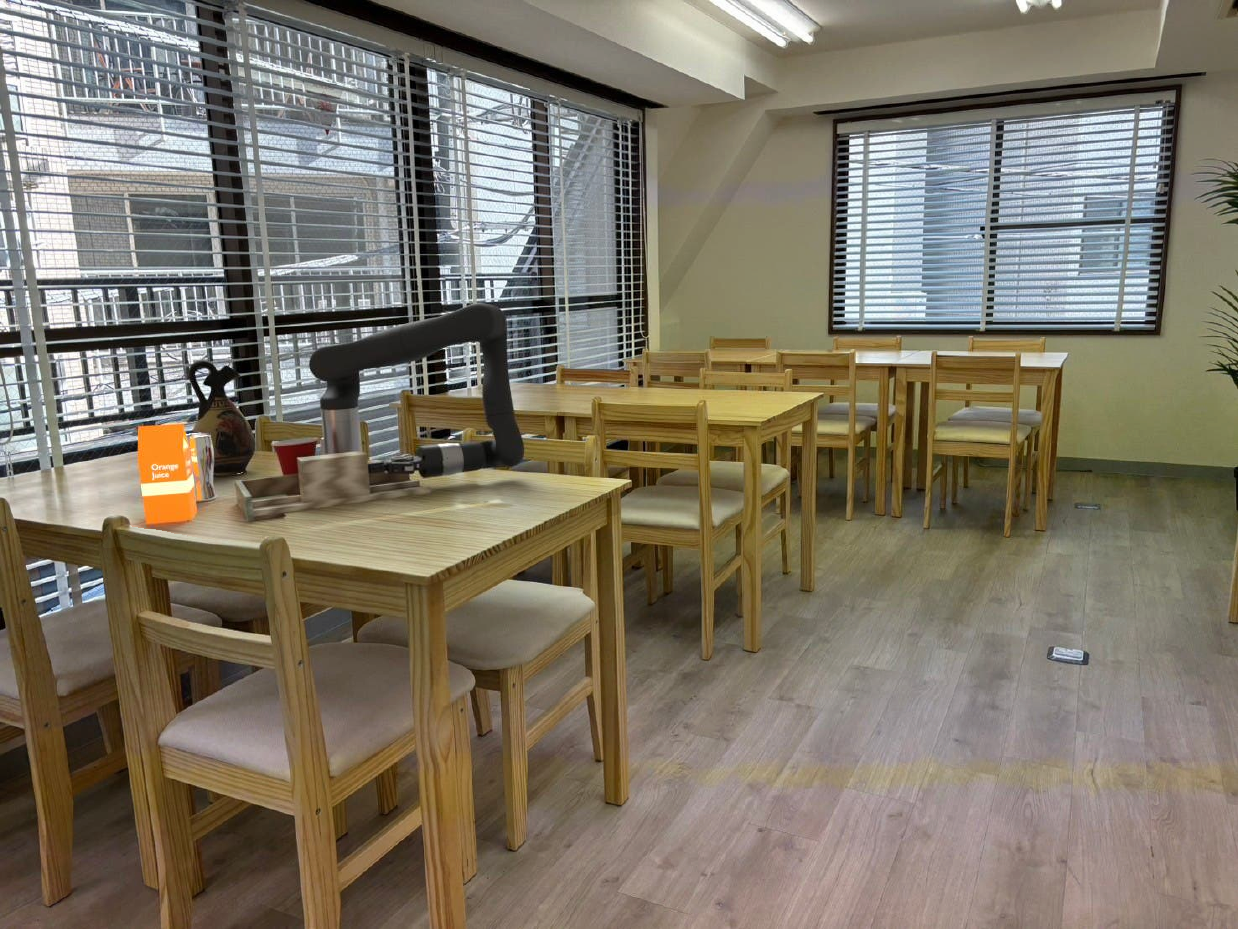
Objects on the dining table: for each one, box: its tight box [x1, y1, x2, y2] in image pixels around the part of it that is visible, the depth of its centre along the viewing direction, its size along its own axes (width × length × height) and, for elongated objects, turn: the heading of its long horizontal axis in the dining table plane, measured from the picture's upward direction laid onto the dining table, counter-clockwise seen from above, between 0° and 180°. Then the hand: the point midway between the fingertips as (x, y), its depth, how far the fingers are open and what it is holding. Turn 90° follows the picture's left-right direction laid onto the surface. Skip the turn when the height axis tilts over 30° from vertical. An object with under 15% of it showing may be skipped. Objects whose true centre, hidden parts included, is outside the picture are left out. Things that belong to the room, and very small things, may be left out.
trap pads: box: [299, 482, 389, 495], centre depth 211 cm, size 20×7×1 cm, turn 118°
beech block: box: [297, 450, 370, 503], centre depth 201 cm, size 14×5×10 cm, turn 119°
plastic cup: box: [270, 437, 319, 476], centre depth 219 cm, size 11×11×12 cm
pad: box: [252, 494, 288, 501], centre depth 203 cm, size 8×7×1 cm
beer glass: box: [186, 433, 218, 503], centre depth 209 cm, size 7×7×15 cm
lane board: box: [234, 472, 432, 522], centre depth 206 cm, size 39×19×5 cm, turn 118°
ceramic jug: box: [188, 360, 256, 477], centre depth 238 cm, size 17×15×30 cm
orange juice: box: [136, 423, 198, 525], centre depth 192 cm, size 8×9×20 cm
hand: (365, 468), depth 204 cm, fingers closed
